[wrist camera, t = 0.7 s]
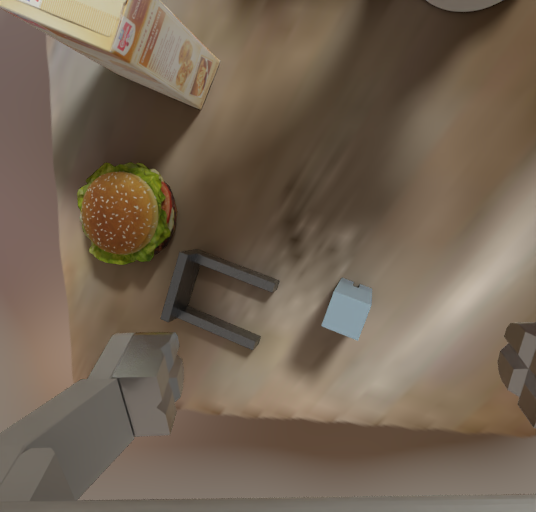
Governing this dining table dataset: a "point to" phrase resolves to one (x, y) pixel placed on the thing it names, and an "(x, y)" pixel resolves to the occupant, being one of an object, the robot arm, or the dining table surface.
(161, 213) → the food
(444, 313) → the dining table surface
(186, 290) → the rail channel
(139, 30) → the coffeecake box
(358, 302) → the pale blue rectangular prism
